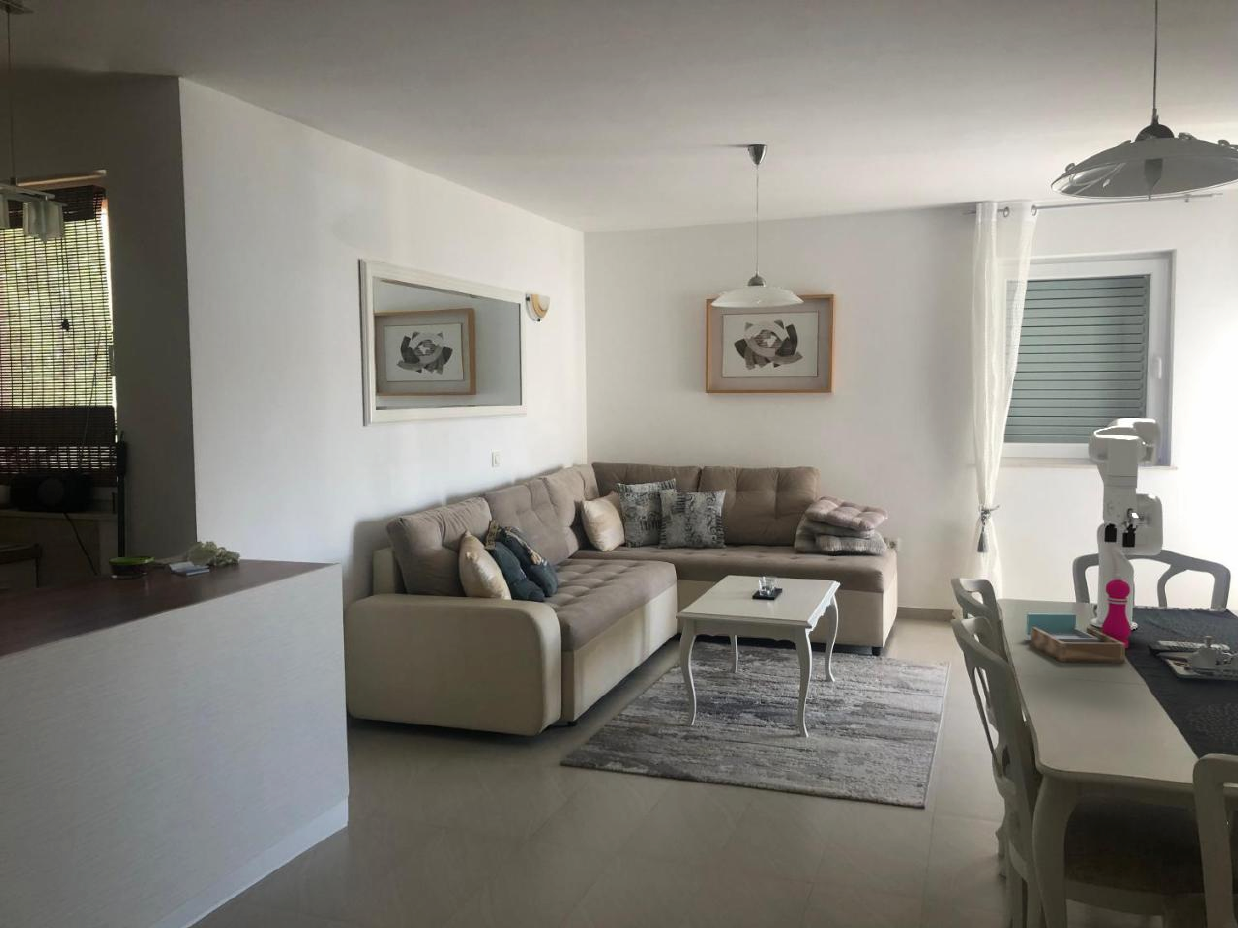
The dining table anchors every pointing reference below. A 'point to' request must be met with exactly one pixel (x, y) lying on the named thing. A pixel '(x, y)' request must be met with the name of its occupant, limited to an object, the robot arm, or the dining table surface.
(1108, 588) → the pepper mill
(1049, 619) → the drawer
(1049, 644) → the cubby
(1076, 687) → the dining table surface
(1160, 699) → the dining table surface
